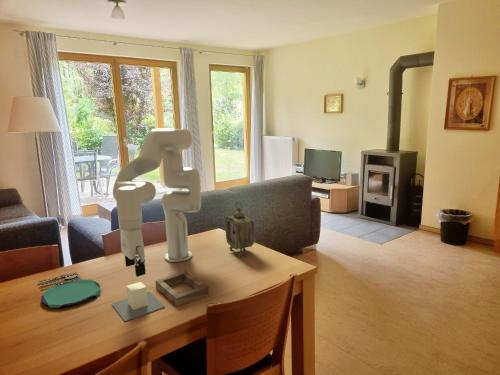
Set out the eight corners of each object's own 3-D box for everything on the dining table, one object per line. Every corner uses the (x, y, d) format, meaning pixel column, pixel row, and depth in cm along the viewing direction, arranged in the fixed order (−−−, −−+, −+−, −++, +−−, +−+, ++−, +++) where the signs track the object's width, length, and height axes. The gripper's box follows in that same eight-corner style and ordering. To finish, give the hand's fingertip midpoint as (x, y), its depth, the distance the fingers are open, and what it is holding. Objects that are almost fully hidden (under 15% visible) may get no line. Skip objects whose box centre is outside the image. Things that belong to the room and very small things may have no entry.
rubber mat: (111, 304, 127) (111, 303, 127) (149, 292, 135) (149, 291, 135) (124, 321, 116) (124, 320, 116) (165, 307, 125) (165, 306, 124)
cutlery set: (47, 317, 121) (46, 310, 120) (32, 285, 144) (31, 280, 143) (107, 297, 133) (107, 292, 133) (85, 271, 156) (84, 266, 155)
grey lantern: (226, 249, 177) (224, 200, 172) (242, 245, 181) (241, 197, 176) (238, 259, 165) (237, 206, 160) (256, 255, 169) (255, 204, 164)
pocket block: (156, 287, 139) (155, 280, 139) (186, 277, 147) (185, 271, 146) (176, 306, 125) (176, 298, 124) (208, 294, 133) (208, 287, 132)
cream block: (128, 304, 126) (126, 285, 125) (142, 299, 129) (140, 281, 128) (133, 310, 122) (131, 291, 121) (147, 305, 125) (146, 286, 124)
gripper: (111, 219, 124) (116, 264, 128) (128, 232, 111) (133, 282, 115) (132, 215, 129) (137, 259, 133) (151, 227, 115) (156, 275, 119)
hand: (135, 270), depth 124 cm, fingers open, 9 cm apart
